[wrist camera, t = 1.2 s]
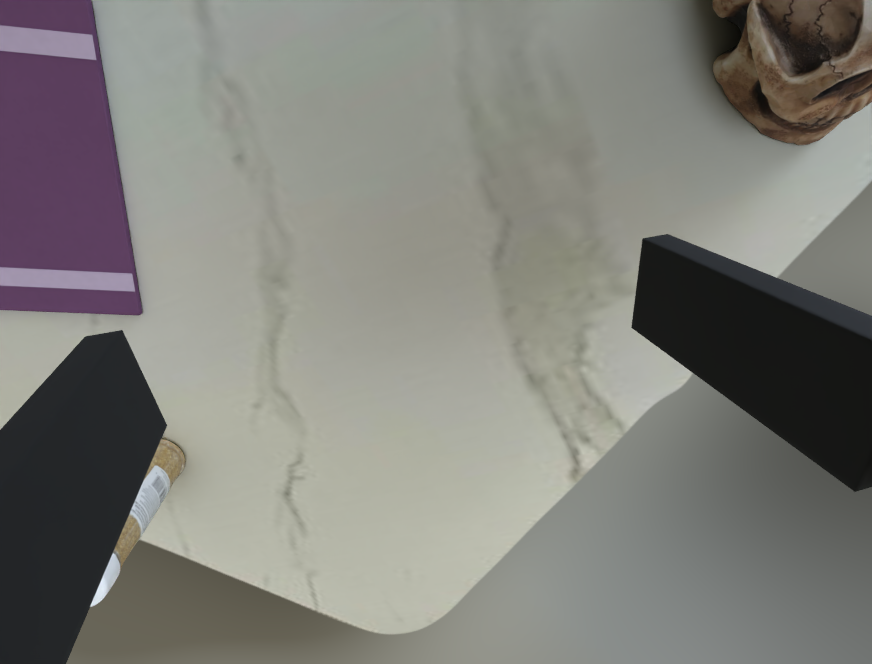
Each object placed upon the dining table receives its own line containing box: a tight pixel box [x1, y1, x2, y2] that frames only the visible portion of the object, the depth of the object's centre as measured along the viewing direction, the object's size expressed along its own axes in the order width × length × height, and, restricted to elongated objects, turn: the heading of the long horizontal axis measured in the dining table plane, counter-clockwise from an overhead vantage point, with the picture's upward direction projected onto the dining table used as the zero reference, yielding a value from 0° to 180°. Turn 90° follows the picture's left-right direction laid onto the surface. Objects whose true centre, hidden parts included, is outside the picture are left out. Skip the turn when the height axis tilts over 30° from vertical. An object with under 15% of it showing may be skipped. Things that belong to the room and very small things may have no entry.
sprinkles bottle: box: [90, 439, 185, 607], centre depth 36 cm, size 5×5×13 cm
